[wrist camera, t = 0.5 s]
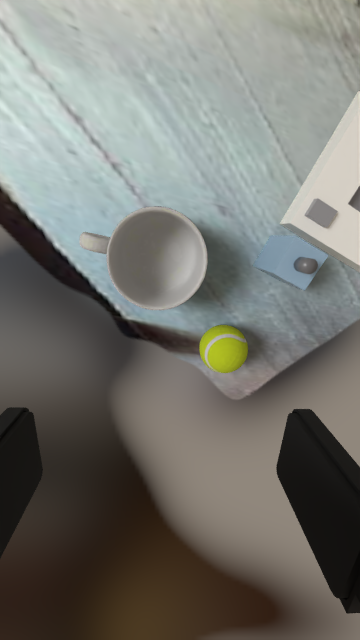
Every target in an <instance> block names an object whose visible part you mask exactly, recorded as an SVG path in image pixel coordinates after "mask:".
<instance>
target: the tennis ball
mask: <svg viewBox="0 0 360 640" xmlns="http://www.w3.org/2000/svg"><path fill="white" fill-rule="evenodd" d="M199 349H200V355H201V358H202V360H203V362H204V363H205V365H207V366H208V367H209V368H210V369H212V370H213V371H216V372H221V373H229V372H233V371H235V370H237V369H238V368H240V367H241V366H242V365H243V363H244V362H245V360H246V358H247V354H248V344H247V341H246V340H245V337H244V335H243V334H242V333H241V332H240V331H239V330H238V329H236V328H234V327H232V326H228V325H218V326H215V327H212V328H211V329H209V330H208V331H207V332H206V333H205V334H204V335H203V337H202V339H201V342H200V348H199Z"/></svg>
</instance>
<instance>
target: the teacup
mask: <svg viewBox="0 0 360 640" xmlns="http://www.w3.org/2000/svg"><path fill="white" fill-rule="evenodd" d="M80 246H81V247H82V248H84V249H87V250H90V251H93V252H98V253H103V254H107V267H108V272H109V275H110V278H111V280H112V282H113V284H114V286H115V287H116V289H117V290H118V291H119V293H120V294H121V295H122V296H123V297H124V298H126V299H127V300H128V301H130V302H132V303H133V304H135V305H137V306H139V307H142V308H145V309H149V310H165V309H171V308H174V307H176V306H179V305H181V304H183V303H184V302H186V301H187V300H188V299H190V298H191V297H192V296H193V295H194V294H195V292H196V291H197V290H198V288H199V287H200V285H201V284H202V282H203V280H204V277H205V274H206V270H207V264H208V253H207V248H206V245H205V241H204V239H203V237H202V235H201V233H200V231H199V230H198V228H197V227H196V226H195V224H194V223H193V222H192V221H191V220H190V219H189V218H187V217H186V216H185V215H183V214H182V213H180V212H178V211H176V210H173V209H171V208H166V207H159V206H154V207H145V208H141V209H139V210H137V211H134V212H132V213H131V214H129V215H128V216H126V217H125V218H124V219H123V220H122V221H120V223H119V224H118V225H117V227H116V228H115V230H114V231H113V233H112V236H111V238H110V237H106V236H102V235H98V234H93V233H87V232H83V233H82V234H81V236H80Z"/></svg>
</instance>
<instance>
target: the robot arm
mask: <svg viewBox="0 0 360 640" xmlns="http://www.w3.org/2000/svg"><path fill="white" fill-rule="evenodd" d="M42 470H43V469H42V462H41V456H40V450H39V445H38V439H37V433H36V427H35V421H34V415H33V413H32V412H29V410H28V409H27V408H7V409H6V410H5V411H4V412H3V413H2V414H1V415H0V558H1V556H2V554H3V552H4V550H5V548H6V546H7V544H8V542H9V540H10V538H11V536H12V534H13V533H14V531H15V528H16V527H17V525H18V523H19V521H20V519H21V517H22V515H23V513H24V511H25V509H26V507H27V505H28V503H29V501H30V499H31V497H32V495H33V494H34V492H35V490H36V488H37V486H38V484H39V482H40V480H41V476H42ZM277 475H278V478H279V480H280V482H281V484H282V487H283V489H284V491H285V493H286V495H287V497H288V499H289V502H290V504H291V506H292V508H293V510H294V512H295V515H296V517H297V519H298V521H299V523H300V525H301V527H302V530H303V532H304V534H305V536H306V538H307V540H308V542H309V545H310V547H311V549H312V551H313V553H314V555H315V558H316V560H317V562H318V564H319V566H320V568H321V570H322V573H323V575H324V577H325V579H326V581H327V583H328V585H329V588H330V590H331V591H332V593H333V595H334V596H335V597H336V598H340V600H341V603H342V605H343V607H344V609H345V611H346V613H360V467H359V466H358V465H357V463H356V462H355V461H354V460H353V459H352V457H351V456H350V455H349V454H348V453H347V451H346V450H345V449H344V448H343V447H342V445H341V444H340V443H339V442H338V441H337V440H336V438H335V437H334V436H333V435H332V433H331V432H330V431H329V430H328V429H327V428H326V426H325V425H324V424H323V423H322V422H321V420H320V419H319V418H318V417H317V416H316V414H315V413H314V412H313V411H312V410H310V409H294V410H293V412H292V413H290V414H289V415H288V418H287V422H286V427H285V431H284V436H283V440H282V445H281V450H280V454H279V458H278V462H277Z"/></svg>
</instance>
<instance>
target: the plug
mask: <svg viewBox="0 0 360 640" xmlns="http://www.w3.org/2000/svg"><path fill="white" fill-rule="evenodd" d="M327 257H328V255H327V254H326V253H324V252H322V251H321V250H319V249H317V248H316V247H314V246H312V245H311V244H309V243H307V242H306V241H304V240H302V239H301V238H299V237H297V236H270V237H269V239H268V241H267V243H266V244H265V246H264V248H263V249H262V251H261V253H260V254H259V256H258V258H257V260H256V261H255V263H254V265H253V266H254V267H256V268H258V269H259V270H261V271H263V272H265V273H267V274H268V275H270V276H272V277H274V278H276V279H277V280H279V281H282V282H284V283H287V284H289V285H292V286H294V287H297V288H299V289H302V290H304V291H305V289H306V288H307V286H308V285H309V283H310V282H311V281H312V279H313V278H314V276H315V275H316V273H317V272H318V270H319V269H320V267H321V266H322V264H323V263H324V261H325V260H326V258H327Z"/></svg>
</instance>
